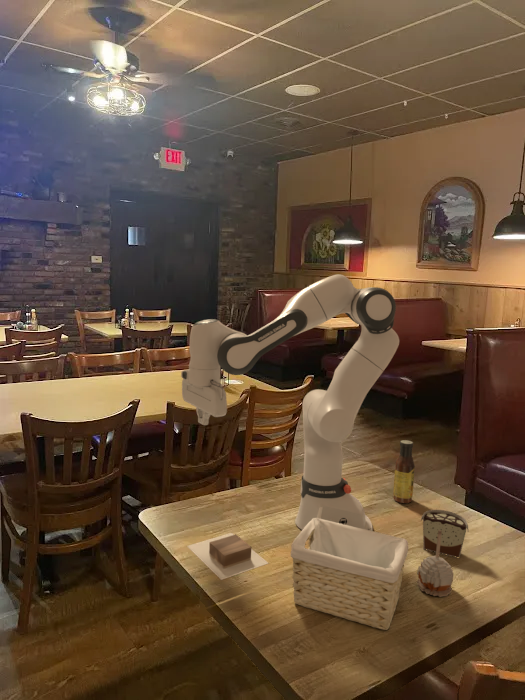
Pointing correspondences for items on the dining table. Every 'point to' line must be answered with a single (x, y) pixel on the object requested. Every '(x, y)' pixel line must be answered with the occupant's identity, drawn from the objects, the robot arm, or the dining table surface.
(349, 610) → the storage basket
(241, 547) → the walnut block
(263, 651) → the dining table surface
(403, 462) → the sauce bottle
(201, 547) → the white rectangular sheet
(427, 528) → the food container
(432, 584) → the candy apple
